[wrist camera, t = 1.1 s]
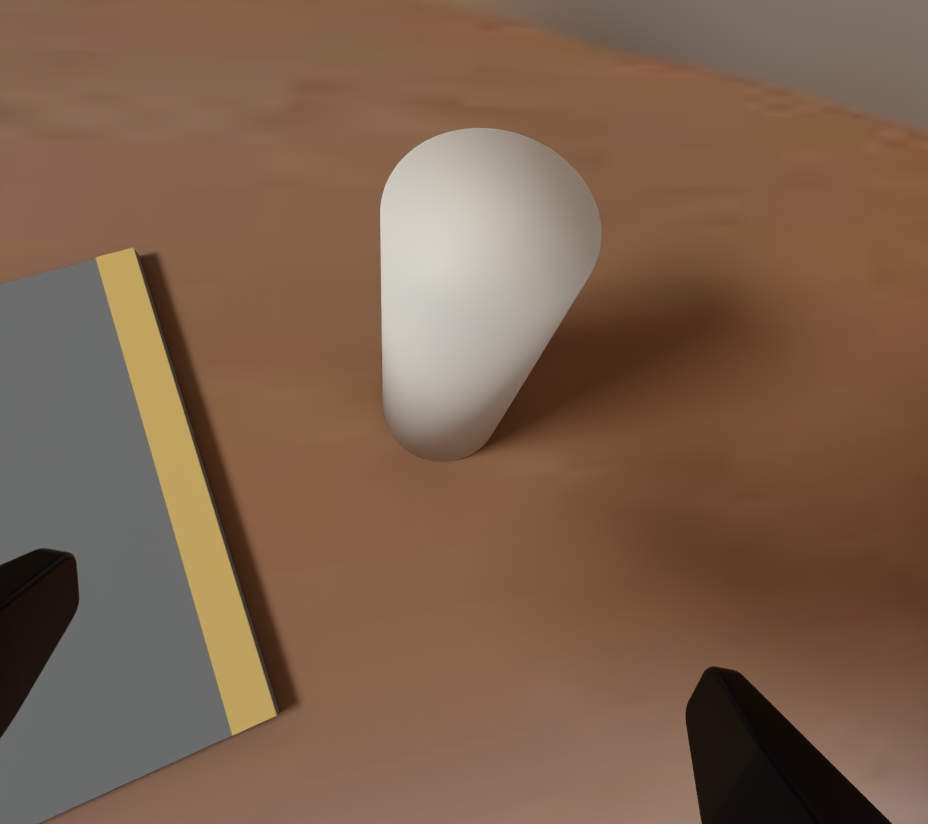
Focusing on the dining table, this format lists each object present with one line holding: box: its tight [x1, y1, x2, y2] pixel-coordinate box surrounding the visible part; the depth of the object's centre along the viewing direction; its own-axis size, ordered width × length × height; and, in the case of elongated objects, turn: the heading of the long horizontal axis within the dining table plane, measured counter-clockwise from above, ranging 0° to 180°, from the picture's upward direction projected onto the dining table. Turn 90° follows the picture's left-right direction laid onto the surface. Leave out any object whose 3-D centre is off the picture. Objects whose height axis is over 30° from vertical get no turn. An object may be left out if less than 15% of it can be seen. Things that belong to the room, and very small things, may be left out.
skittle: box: [380, 128, 601, 462], centre depth 18 cm, size 5×5×12 cm
